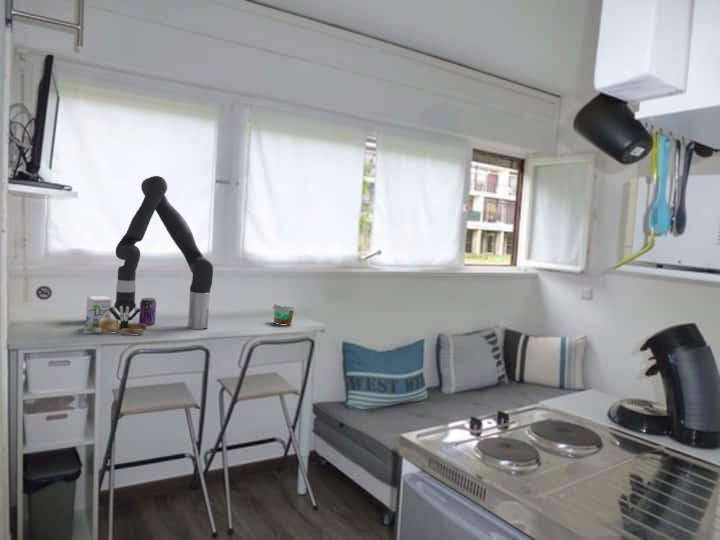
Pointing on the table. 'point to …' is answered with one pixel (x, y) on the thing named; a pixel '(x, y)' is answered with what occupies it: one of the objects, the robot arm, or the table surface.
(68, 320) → the table surface
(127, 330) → the channel
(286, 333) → the table surface
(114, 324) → the block
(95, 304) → the ink box
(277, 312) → the food container
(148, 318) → the beverage can
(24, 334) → the table surface
